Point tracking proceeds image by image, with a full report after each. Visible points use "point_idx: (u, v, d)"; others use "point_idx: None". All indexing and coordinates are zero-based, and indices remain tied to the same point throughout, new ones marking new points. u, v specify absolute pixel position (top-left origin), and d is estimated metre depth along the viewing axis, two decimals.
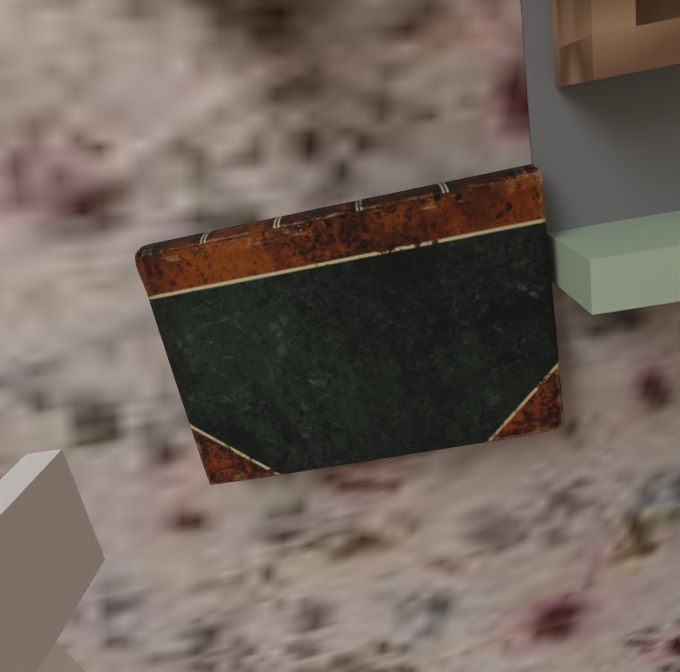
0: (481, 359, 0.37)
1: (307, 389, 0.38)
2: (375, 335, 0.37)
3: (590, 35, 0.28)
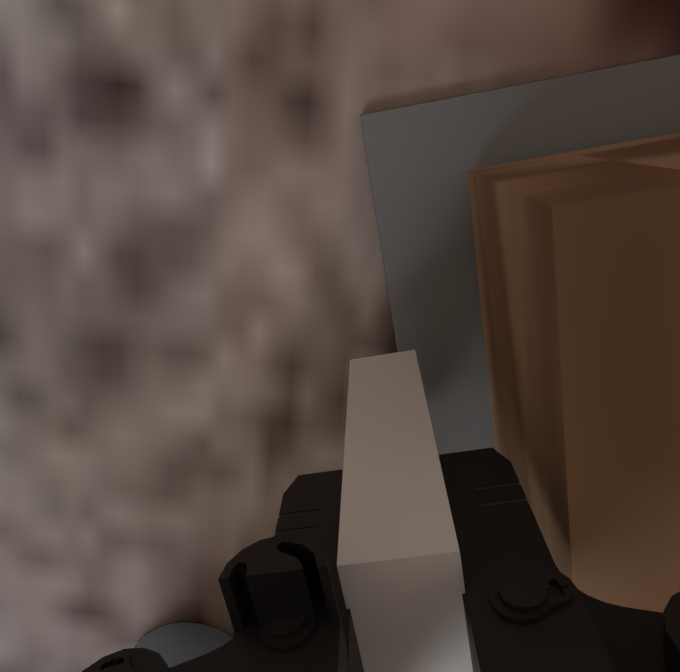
0: None
1: None
2: None
3: None
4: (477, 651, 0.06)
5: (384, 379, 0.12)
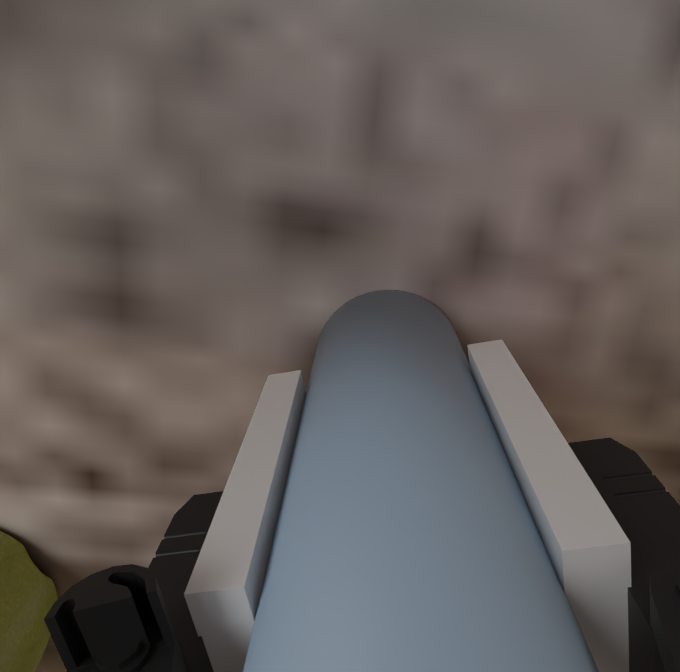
0: None
1: None
2: None
3: None
4: (667, 637, 0.05)
5: (479, 369, 0.11)
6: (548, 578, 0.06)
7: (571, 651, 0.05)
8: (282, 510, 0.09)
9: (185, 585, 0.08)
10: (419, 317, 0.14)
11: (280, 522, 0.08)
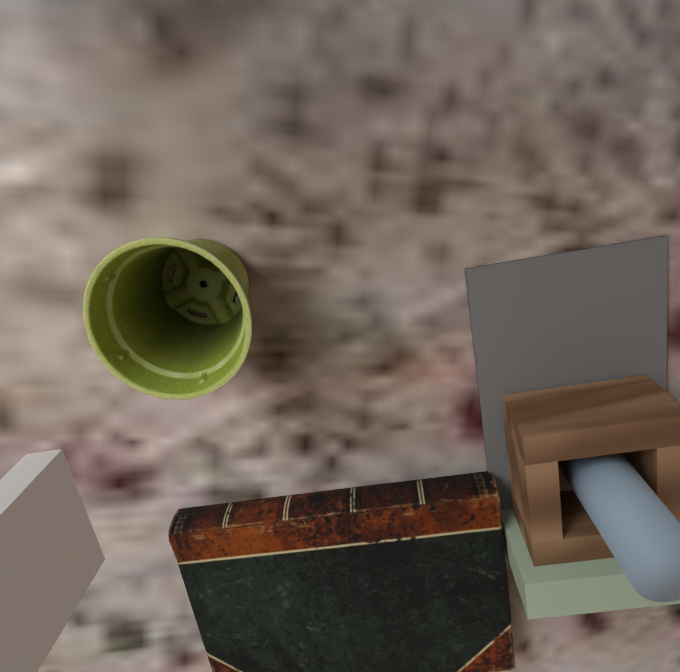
0: (448, 619, 0.46)
1: (305, 632, 0.47)
2: (362, 598, 0.45)
3: (530, 539, 0.39)
4: None
5: None
6: (678, 521, 0.32)
7: None
8: (603, 510, 0.34)
9: None
10: None
11: (606, 513, 0.34)
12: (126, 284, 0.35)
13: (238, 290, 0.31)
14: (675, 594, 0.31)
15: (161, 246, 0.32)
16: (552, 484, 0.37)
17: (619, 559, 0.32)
